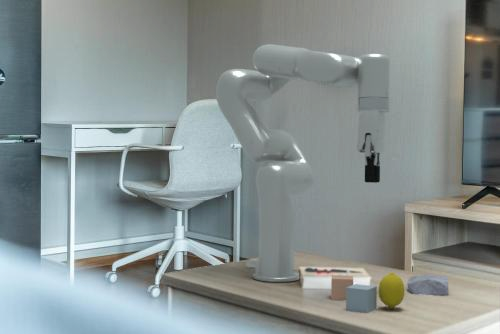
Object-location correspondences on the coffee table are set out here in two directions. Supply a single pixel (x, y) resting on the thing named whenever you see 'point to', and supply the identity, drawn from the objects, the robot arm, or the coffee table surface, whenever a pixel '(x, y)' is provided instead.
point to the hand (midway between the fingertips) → (372, 181)
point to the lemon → (391, 290)
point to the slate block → (361, 298)
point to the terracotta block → (340, 286)
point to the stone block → (428, 284)
